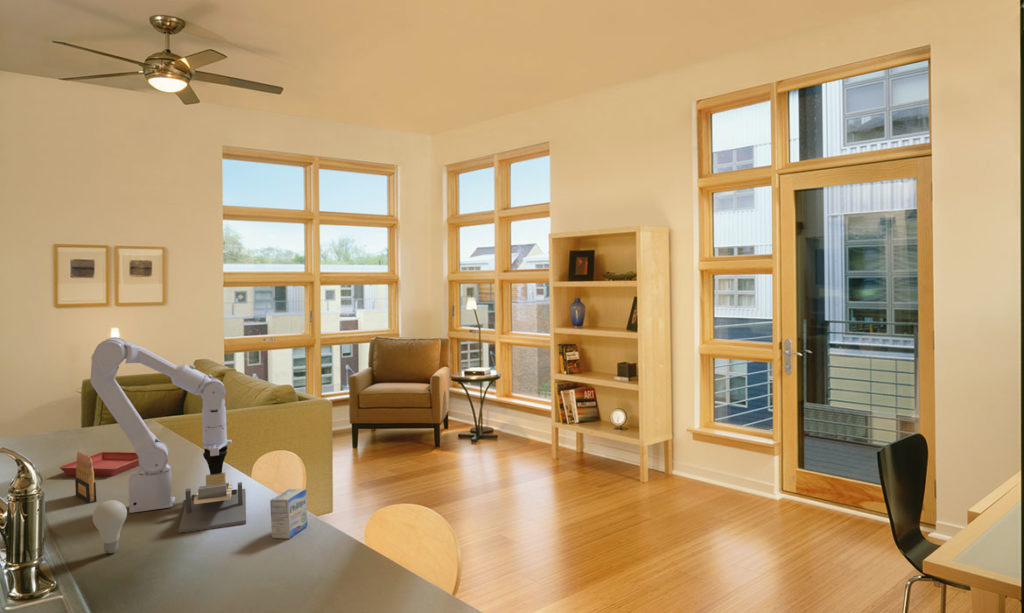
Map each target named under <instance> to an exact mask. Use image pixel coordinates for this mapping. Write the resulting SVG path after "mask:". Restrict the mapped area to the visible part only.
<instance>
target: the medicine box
mask: <svg viewBox="0 0 1024 613" xmlns="http://www.w3.org/2000/svg"><path fill="white" fill-rule="evenodd" d="M307 498H308V497H307V490H306V489H305V488H288V489H287V490H285V491H284V492H282V493H280V494H279V495H277V496H276V497H274V498H272V499H270V501H269V502H270V504H269V505H270V525H271V526H270V527H271V528H270V529H271V530H270V531H271V538H273V539H283V540H284V539H285V540H287V539H288V540H290V539H293V537H294V536H296V535H297V534H299V533H300V532H301V531H302V530H304V529H306V527H308V501H307Z"/></svg>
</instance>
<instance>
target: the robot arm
mask: <svg viewBox="0 0 1024 613" xmlns="http://www.w3.org/2000/svg"><path fill="white" fill-rule="evenodd" d="M90 358H91V368H90V381H89V382H90V384H91V386H92V388H93V389H94V391H95V392H96V393H97V395H98V396H99V398H100V399H101V401H102V402H103V404H104V406H106V408H107V409H108V411H109V412H110V414H111V415H112V417H113V418H114V420H115V421H116V422H117V424H118V425H119V427H120V428H121V430H122V431H123V432H124V434H125V435H126V437H127V438H128V440H129V441H130V442H131V445H132V448H133V451H134V453H136V454H137V456H138V458H139V469H138V471H137V472H133V473H130V474H129V477H128V507H129V508H128V509H129V511H128V513H138V512H146V511H153V510H160V509H161V510H162V509H169V508H173V506H174V503H175V500H176V496H173V494H172V492H173V491H172V490H173V489H172V488H173V487H172V467H171V465H169V464H168V460H169V459H168V458H169V455H170V449H169V447H168V445H167V444H166V443H165V442H163V441H162V440H159V439H158V438H157V436H156V435H155V434H154V433H153V432H152V431H151V430H150V428H149V427H148V426H147V424H146V423H145V421H144V420H143V418H142V416H141V415H140V414H139V412H138V411H137V409H136V408H135V406H134V404H133V403H132V402H131V400H130V399H129V397H128V396H127V394H126V393H125V391H124V390H123V389H122V387H121V386H120V384H119V382H118V381H117V379H116V376H117V374H118V370H119V368H120V365H121V364H122V362H123V361H124V360H125V363H124V364H141V365H144V366H145V367H147V368H150V369H152V370H154V371H156V372H158V373H161V374H163V375H165V376H167V377H170V379H171V382H172V384H173V385H174V386H176V387H177V388H180V389H182V390H184V391H186V392H189V393H190V394H193V395H194V396H200V397H201V399H202V409H201V418H202V419H201V422H202V424H201V425H202V447H203V448H204V451H203V453H202V456H203V458H204V459H205V461H206V463H207V466H208V469H209V474H215V473H223V466H224V461H225V458H226V456H227V453H228V451H227V450H228V445H231V444H232V443H233V440H232V439H228V432H227V431H228V430H227V407H226V400H225V397H226V394H227V391H226V388H225V385H224V383H223V382H222V380H220V379H219V378H216V377H213V375H212V374H210V373H209V374H205V373H204V372H202V371H200V370H198V369H196V366H195V365H194V364H190V365H188V364H186V363H185V364H182V365H177V364H174V363H172V362H171V361H169V360H167V359H165V358H164V357H162V356H160V355H158V354H156V353H155V352H152V351H151V350H148V349H147V348H144V347H142V346H140V345H138V344H136V343H133V342H131V341H127V342H126V341H125V340H124V339H122V338H120V337H113V336H112V337H110V338H107V339H105V340H102V341H101V342H100V343H98V344H97V346H96V347H95V349H94V351H93V353H92V355H91V357H90Z"/></svg>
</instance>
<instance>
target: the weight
mask: <svg viewBox="0 0 1024 613" xmlns="http://www.w3.org/2000/svg"><path fill="white" fill-rule="evenodd" d="M225 483H227V482H226V472H224V471H222V473H215V474H210V473H208V474H206V475H205V486H209V485H217V484H225Z"/></svg>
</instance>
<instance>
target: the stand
mask: <svg viewBox="0 0 1024 613" xmlns="http://www.w3.org/2000/svg"><path fill="white" fill-rule="evenodd" d="M191 489H192V488H185V504H184V508H183V513H182V515H181V520H180V523H179V527H178V534H182V533H181V532H186V533H190V532H189V531H193V532H197V531H196V530H200V531H205V530H204V529H207V530H213V529H219V528H218V527H220V528H226V527H225V526H227V527H233V526H232V525H234V526H240V525H246V524H247V502H246V500H247V499H246V496H247V495H246V492H247V491H246V488H243V482H242V481H239V482H237V494H235V495H232V494H231V499H230V500H223V501H215V502H208V503H200V504H194V500H192V494H191V492H192V491H191ZM212 528H213V529H212Z"/></svg>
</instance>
